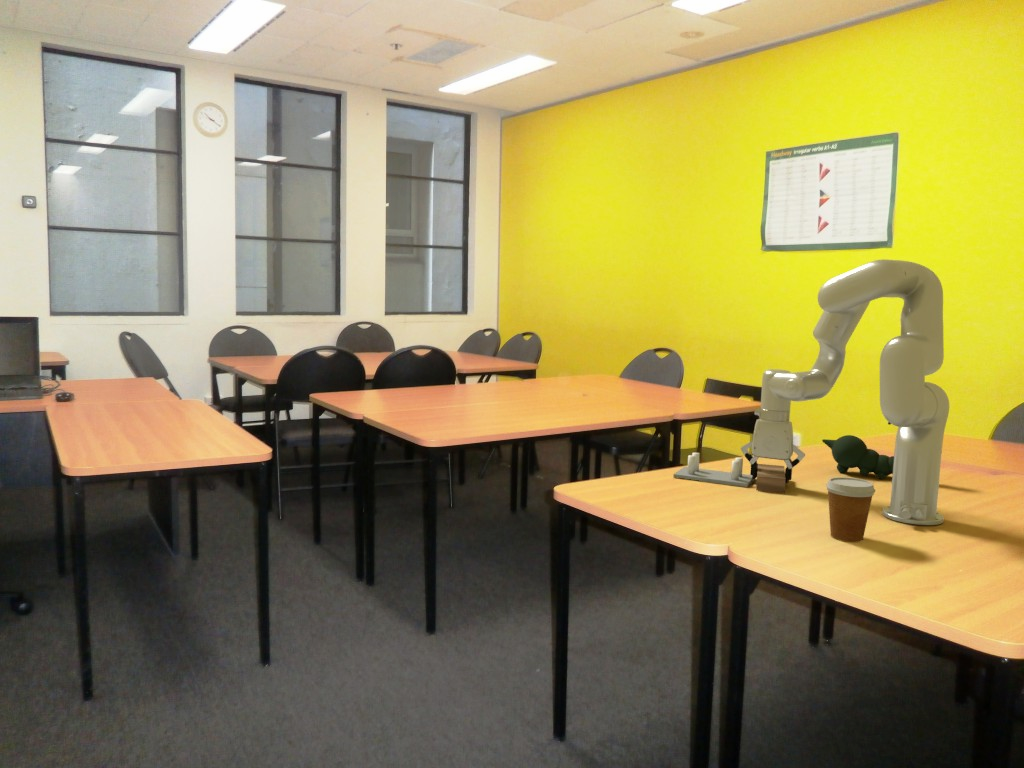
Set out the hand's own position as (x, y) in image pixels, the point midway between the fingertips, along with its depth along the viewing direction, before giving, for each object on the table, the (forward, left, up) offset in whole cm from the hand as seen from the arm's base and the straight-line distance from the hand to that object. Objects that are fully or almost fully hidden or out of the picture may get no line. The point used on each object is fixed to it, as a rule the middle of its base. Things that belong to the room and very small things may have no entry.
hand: (770, 479), depth 206 cm
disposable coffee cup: (-39, -22, -2) cm, 45 cm away
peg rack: (-1, +15, -1) cm, 15 cm away
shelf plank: (0, 0, -2) cm, 2 cm away
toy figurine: (+27, -22, -2) cm, 35 cm away
